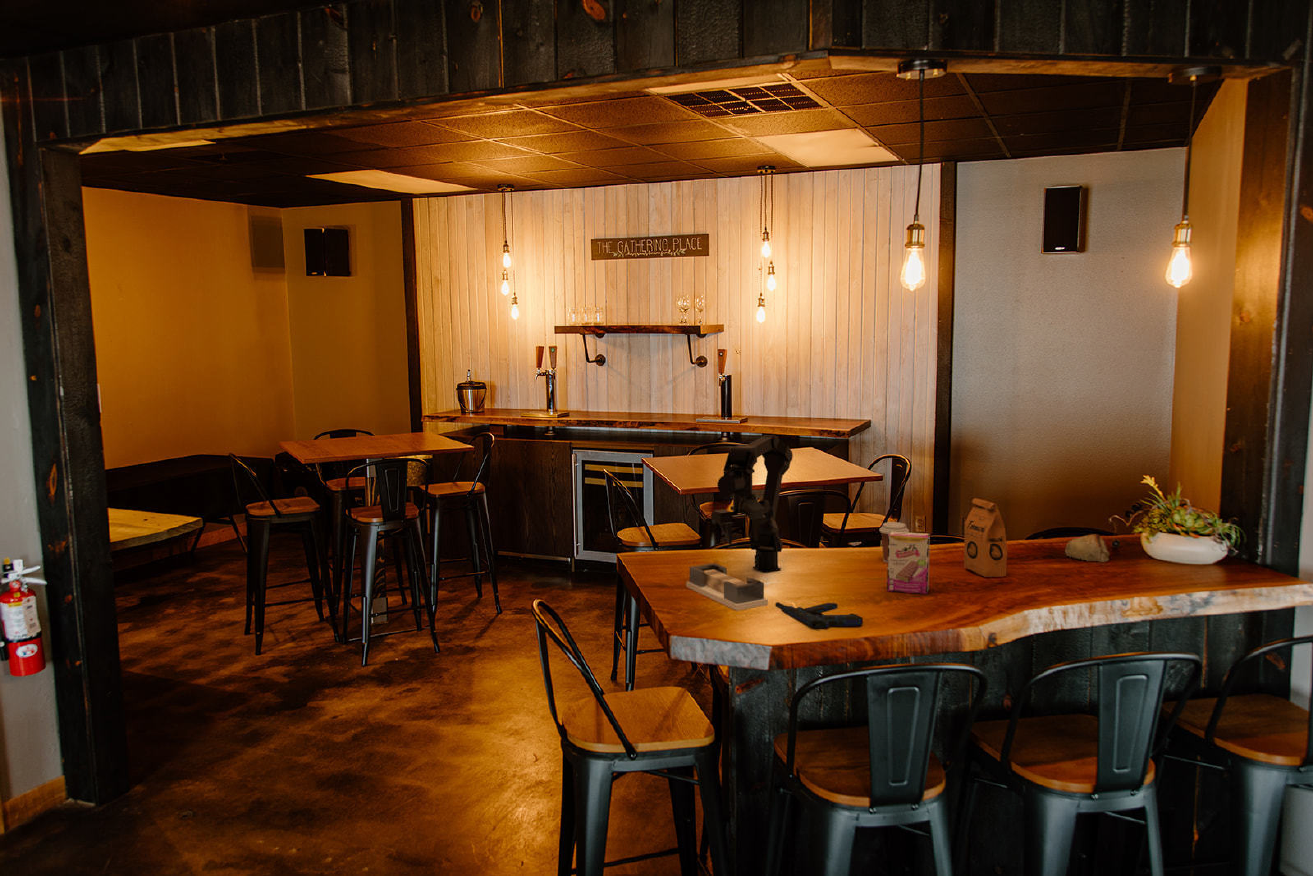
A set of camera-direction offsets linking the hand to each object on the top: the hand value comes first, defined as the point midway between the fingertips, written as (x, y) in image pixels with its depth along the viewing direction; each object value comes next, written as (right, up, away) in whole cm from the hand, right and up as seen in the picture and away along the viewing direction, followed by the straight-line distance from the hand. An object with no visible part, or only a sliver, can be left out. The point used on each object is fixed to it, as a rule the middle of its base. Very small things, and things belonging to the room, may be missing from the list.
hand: (743, 542), depth 257 cm
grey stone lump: (+112, -8, +22) cm, 115 cm away
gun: (+17, -16, -31) cm, 39 cm away
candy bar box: (+45, -13, -11) cm, 48 cm away
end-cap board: (-6, -13, -12) cm, 19 cm away
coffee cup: (+50, -9, +22) cm, 56 cm away
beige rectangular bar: (-6, -12, -12) cm, 18 cm away
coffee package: (+73, -10, +6) cm, 74 cm away
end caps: (-6, -12, -12) cm, 18 cm away
